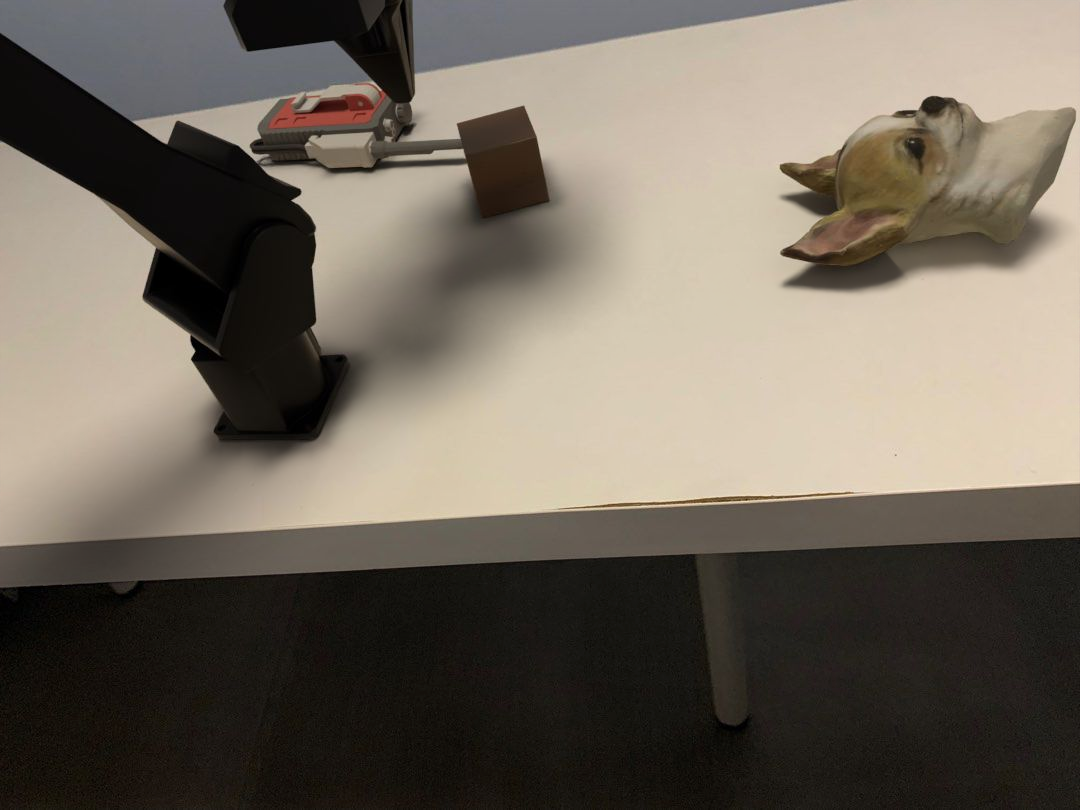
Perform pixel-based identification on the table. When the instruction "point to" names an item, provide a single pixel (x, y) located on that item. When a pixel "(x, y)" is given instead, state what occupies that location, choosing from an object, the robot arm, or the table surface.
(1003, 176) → the ceramic sculpture
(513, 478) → the table surface
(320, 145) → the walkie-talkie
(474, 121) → the walnut block
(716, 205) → the table surface
